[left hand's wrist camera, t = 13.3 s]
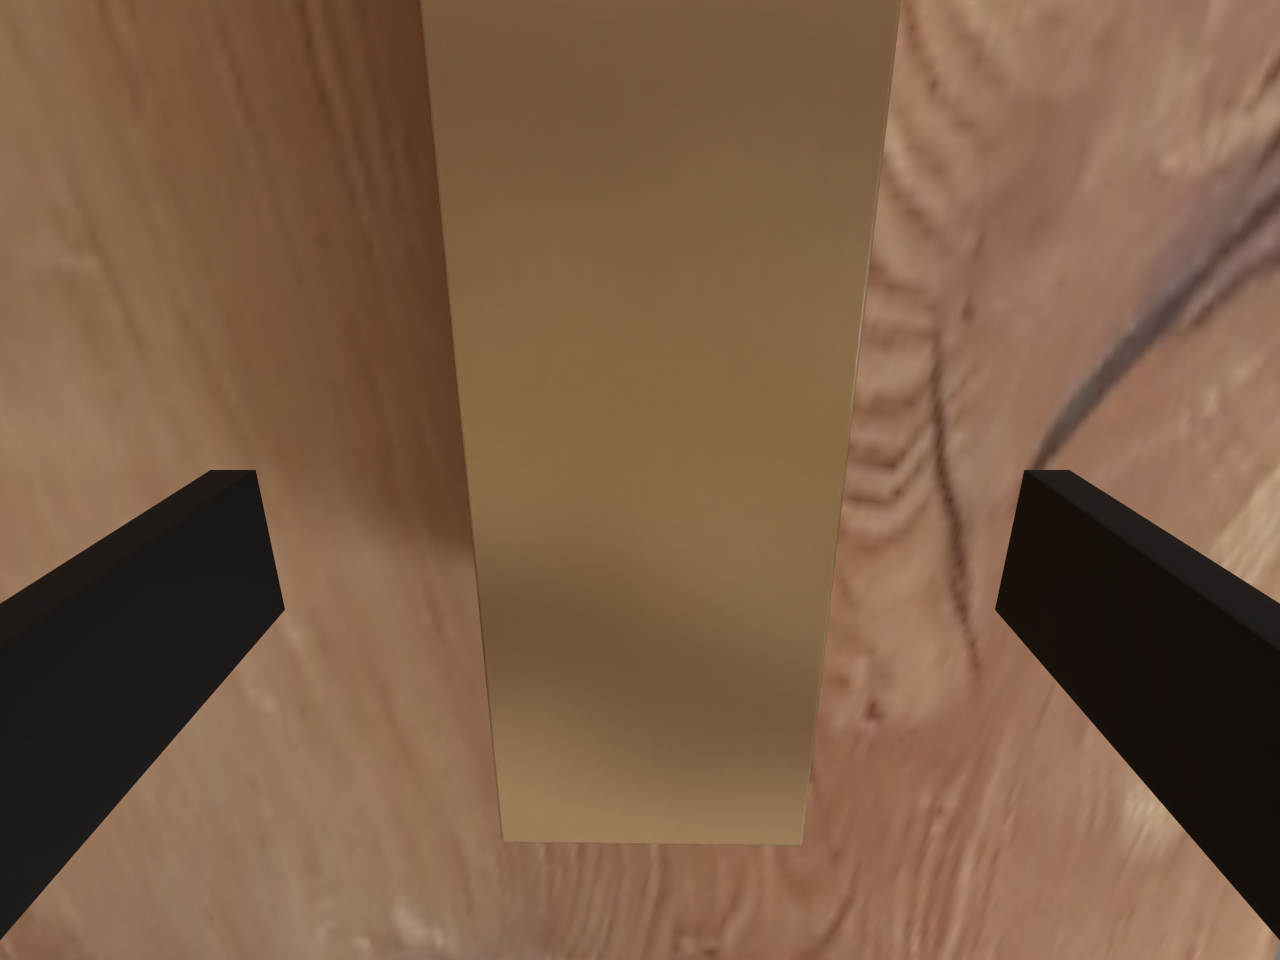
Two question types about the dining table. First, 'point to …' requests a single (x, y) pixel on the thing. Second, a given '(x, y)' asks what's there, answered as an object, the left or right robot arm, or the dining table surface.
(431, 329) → the dining table surface
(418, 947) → the dining table surface
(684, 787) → the post
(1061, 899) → the dining table surface
